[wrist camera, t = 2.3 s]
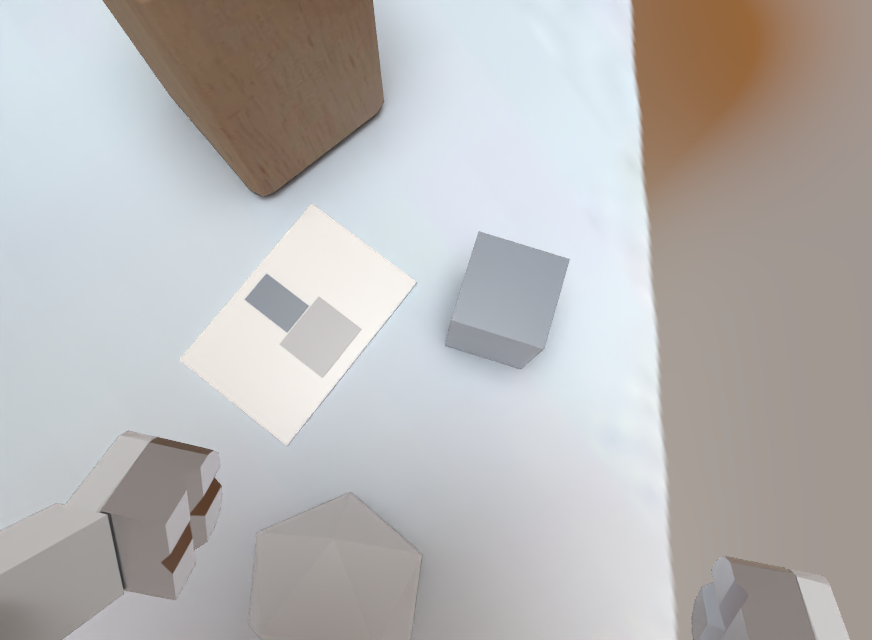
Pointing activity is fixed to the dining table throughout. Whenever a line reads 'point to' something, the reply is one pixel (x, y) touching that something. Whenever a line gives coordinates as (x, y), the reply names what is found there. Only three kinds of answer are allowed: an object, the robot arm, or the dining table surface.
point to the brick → (506, 301)
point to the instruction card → (298, 323)
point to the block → (263, 75)
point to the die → (334, 577)
